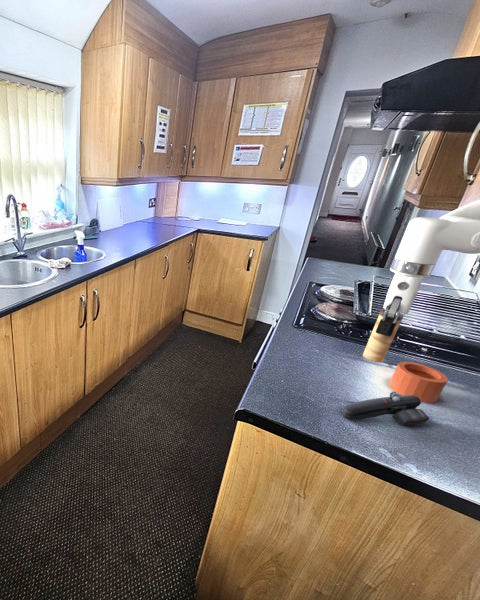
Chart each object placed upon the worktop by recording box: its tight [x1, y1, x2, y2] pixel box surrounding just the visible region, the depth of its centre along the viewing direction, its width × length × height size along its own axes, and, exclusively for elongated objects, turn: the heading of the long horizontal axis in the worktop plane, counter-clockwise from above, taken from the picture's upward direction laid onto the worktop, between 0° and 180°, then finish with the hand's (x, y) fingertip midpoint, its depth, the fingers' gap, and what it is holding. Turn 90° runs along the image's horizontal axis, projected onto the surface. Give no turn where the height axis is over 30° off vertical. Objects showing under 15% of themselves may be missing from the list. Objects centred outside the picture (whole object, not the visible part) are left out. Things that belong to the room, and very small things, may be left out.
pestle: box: [362, 309, 404, 363], centre depth 90 cm, size 5×5×14 cm
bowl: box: [388, 361, 449, 404], centre depth 83 cm, size 9×9×7 cm
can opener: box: [341, 390, 430, 426], centre depth 75 cm, size 18×7×6 cm, turn 91°
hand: (384, 330), depth 89 cm, fingers closed on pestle, 4 cm apart
